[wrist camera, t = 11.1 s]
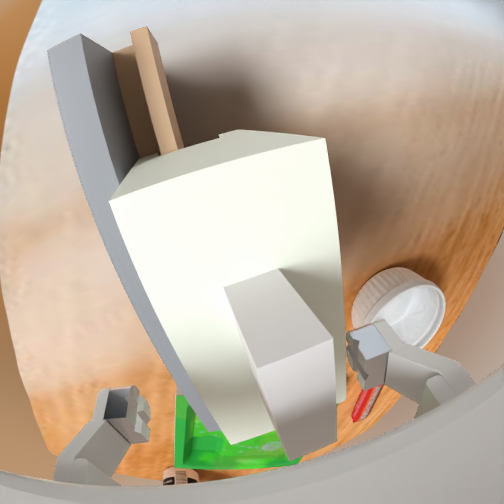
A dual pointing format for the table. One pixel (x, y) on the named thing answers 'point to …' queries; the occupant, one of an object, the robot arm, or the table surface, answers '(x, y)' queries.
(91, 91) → the wall board
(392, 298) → the ramekin
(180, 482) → the supplement can
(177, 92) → the table surface
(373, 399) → the candy bar
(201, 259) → the off-white handled block
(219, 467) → the tray
